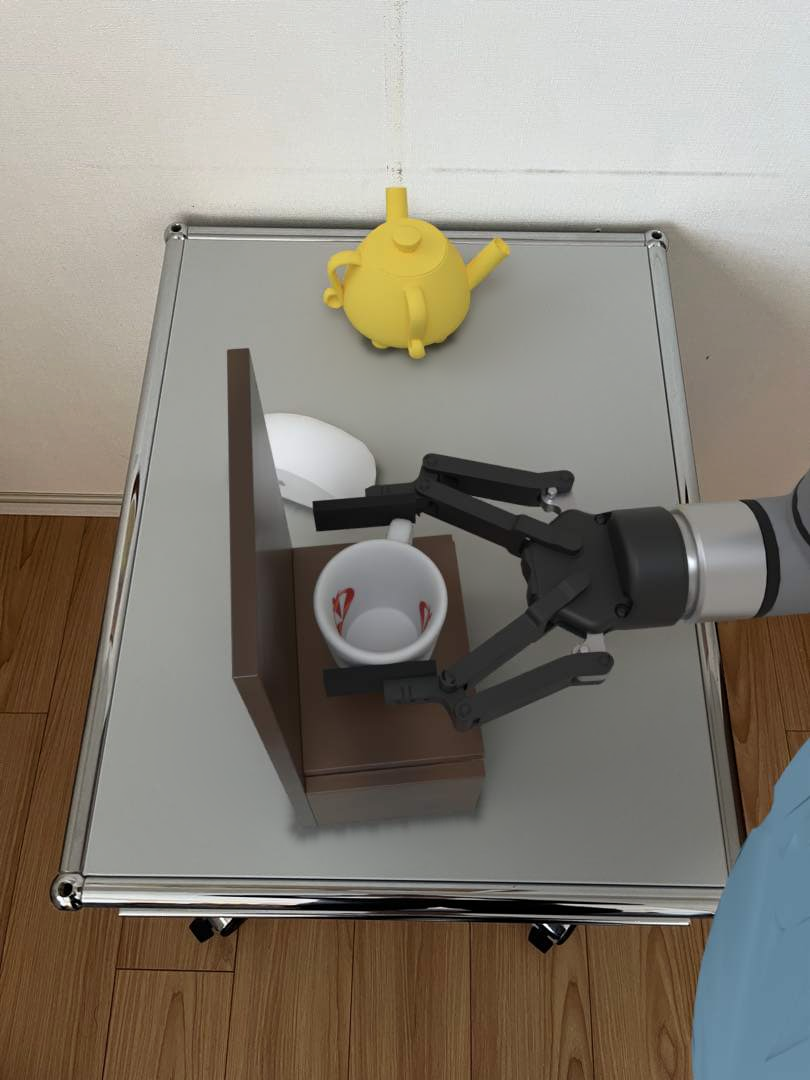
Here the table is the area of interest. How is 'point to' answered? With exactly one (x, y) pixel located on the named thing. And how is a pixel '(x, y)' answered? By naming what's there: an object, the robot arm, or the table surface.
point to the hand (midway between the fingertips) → (319, 596)
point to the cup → (381, 601)
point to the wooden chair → (329, 659)
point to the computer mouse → (317, 459)
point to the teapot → (407, 280)
